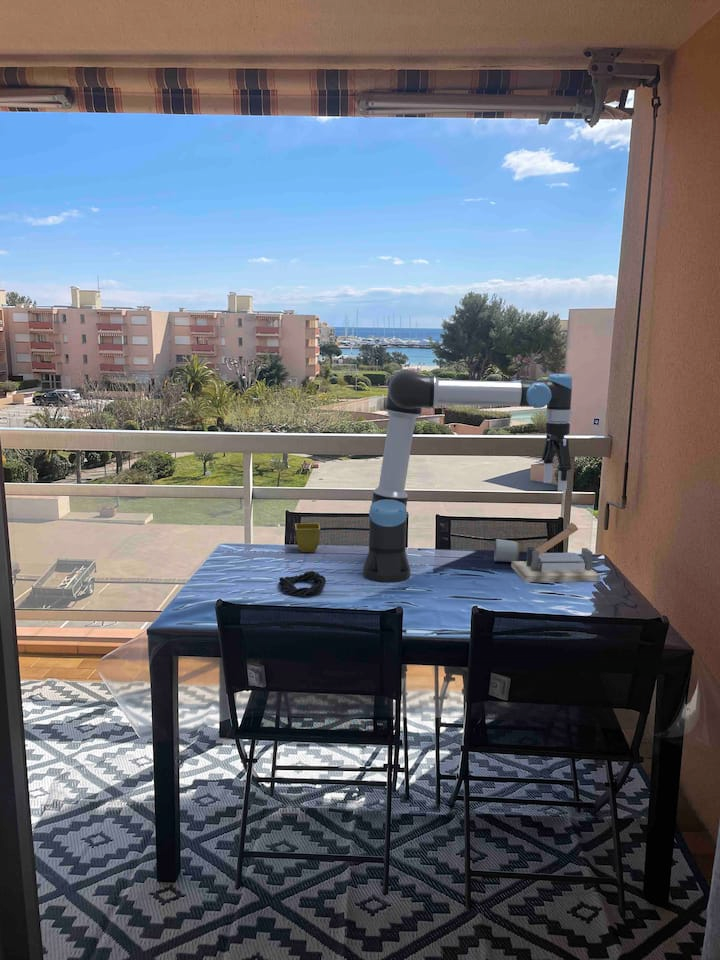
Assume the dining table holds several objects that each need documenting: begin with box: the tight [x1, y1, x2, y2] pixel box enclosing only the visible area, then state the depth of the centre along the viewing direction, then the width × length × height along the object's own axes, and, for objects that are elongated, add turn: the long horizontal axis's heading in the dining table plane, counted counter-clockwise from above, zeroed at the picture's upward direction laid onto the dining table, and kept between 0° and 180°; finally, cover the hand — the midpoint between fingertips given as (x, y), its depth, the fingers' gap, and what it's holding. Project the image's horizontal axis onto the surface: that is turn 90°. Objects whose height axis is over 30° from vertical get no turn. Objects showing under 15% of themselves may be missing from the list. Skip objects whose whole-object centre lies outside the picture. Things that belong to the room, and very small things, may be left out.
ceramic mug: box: [493, 538, 520, 563], centre depth 259 cm, size 11×8×8 cm
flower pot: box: [294, 522, 321, 553], centre depth 266 cm, size 9×9×9 cm
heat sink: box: [525, 545, 593, 573], centre depth 244 cm, size 20×11×6 cm, turn 94°
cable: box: [278, 570, 327, 598], centre depth 225 cm, size 17×14×4 cm
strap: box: [530, 522, 579, 555], centre depth 243 cm, size 17×4×2 cm
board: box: [510, 560, 601, 583], centre depth 245 cm, size 24×16×2 cm, turn 95°
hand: (554, 486), depth 247 cm, fingers open, 13 cm apart
